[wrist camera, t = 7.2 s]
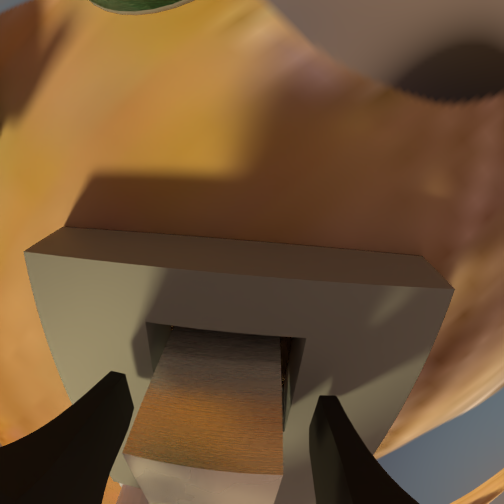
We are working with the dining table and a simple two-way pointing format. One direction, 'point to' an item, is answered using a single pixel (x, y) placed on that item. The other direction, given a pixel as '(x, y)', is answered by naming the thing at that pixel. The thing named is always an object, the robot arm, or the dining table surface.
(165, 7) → the canned tomato
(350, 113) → the dining table surface
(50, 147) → the dining table surface
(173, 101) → the dining table surface
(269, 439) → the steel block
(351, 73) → the dining table surface
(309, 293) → the well board
